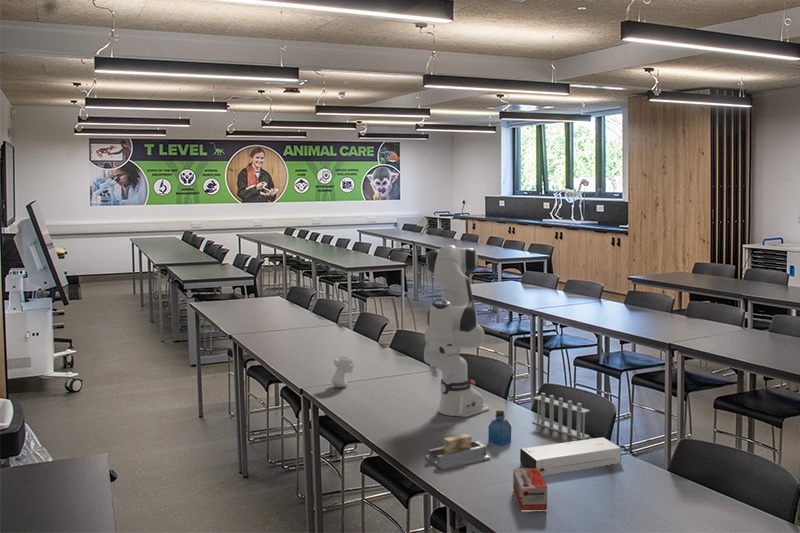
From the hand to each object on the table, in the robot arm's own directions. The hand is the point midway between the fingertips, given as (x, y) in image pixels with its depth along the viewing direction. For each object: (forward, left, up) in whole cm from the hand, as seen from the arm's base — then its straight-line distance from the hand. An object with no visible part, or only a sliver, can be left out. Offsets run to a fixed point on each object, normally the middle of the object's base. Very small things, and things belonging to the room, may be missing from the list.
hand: (441, 379), depth 257 cm
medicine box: (-1, +52, -26) cm, 58 cm away
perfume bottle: (-22, +7, -26) cm, 35 cm away
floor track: (+1, +13, -26) cm, 29 cm away
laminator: (-31, +37, -26) cm, 55 cm away
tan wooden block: (+1, +13, -25) cm, 28 cm away
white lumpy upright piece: (+3, -88, -26) cm, 91 cm away
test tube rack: (-51, +9, -26) cm, 58 cm away
